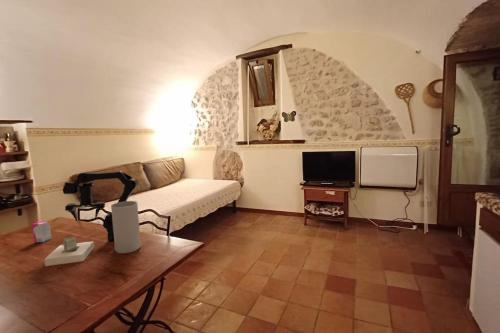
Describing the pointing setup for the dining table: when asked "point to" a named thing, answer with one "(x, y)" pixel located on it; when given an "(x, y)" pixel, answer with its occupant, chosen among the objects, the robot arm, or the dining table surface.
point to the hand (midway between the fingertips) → (86, 220)
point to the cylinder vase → (126, 226)
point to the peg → (70, 244)
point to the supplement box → (41, 231)
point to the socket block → (69, 254)
